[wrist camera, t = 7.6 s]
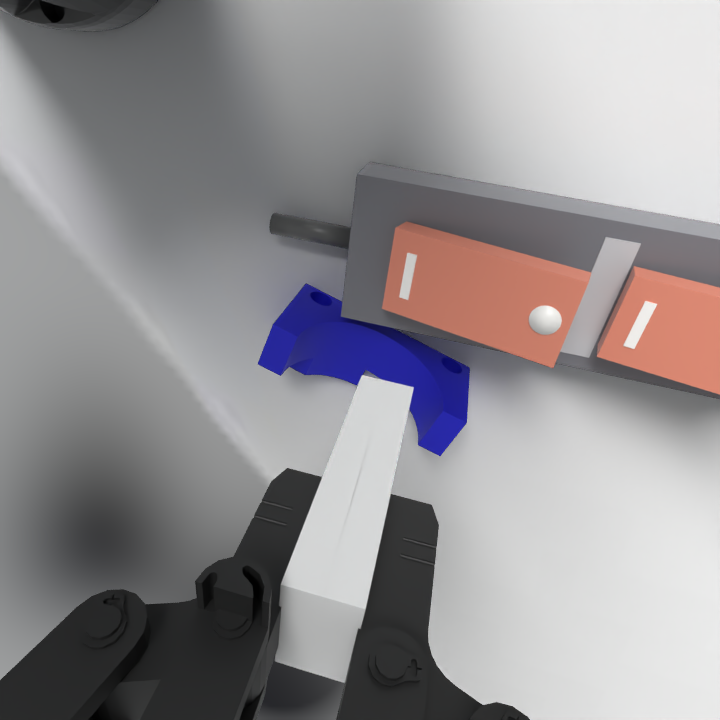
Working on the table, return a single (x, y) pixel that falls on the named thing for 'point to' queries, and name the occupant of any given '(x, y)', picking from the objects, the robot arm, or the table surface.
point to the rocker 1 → (483, 292)
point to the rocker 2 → (666, 329)
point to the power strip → (513, 248)
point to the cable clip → (370, 361)
